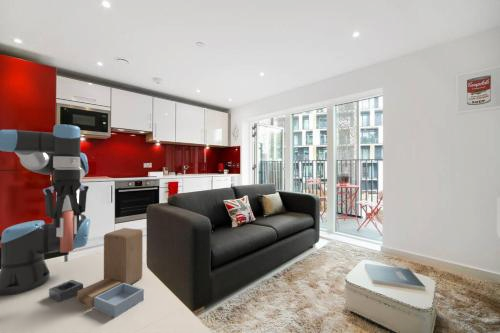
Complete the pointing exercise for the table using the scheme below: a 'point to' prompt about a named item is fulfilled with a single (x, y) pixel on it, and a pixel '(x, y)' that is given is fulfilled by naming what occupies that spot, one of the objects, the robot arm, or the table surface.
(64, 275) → the table surface
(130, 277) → the wooden block
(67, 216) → the dowel
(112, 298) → the tray
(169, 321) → the table surface
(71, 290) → the socket
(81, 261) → the table surface
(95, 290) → the cardboard box
